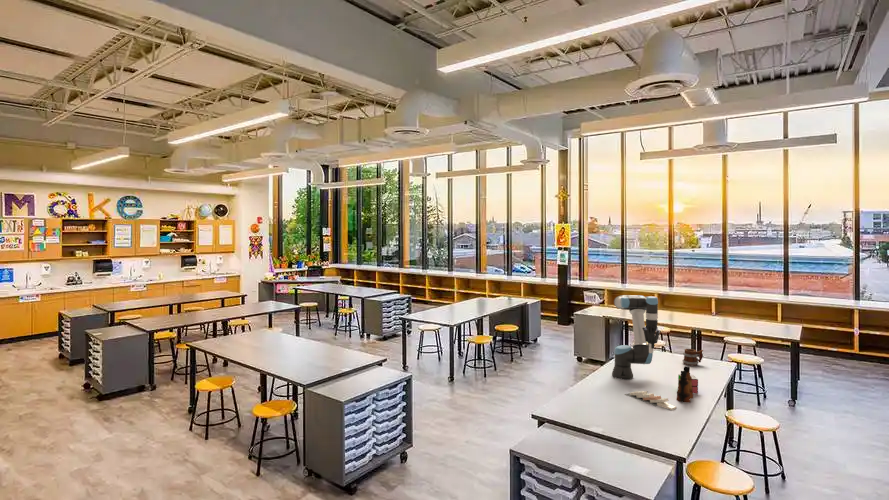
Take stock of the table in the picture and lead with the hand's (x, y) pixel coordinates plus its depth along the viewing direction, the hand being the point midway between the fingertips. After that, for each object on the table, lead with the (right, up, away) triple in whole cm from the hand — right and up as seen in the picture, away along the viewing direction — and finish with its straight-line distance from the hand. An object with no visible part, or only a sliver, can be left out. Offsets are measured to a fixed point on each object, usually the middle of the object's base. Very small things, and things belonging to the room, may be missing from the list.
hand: (651, 352), depth 327 cm
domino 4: (-6, -27, -26) cm, 38 cm away
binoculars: (+16, -27, -15) cm, 35 cm away
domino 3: (-9, -26, -21) cm, 35 cm away
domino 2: (-14, -26, -13) cm, 32 cm away
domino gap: (-11, -26, -17) cm, 33 cm away
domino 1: (-16, -26, -8) cm, 32 cm away
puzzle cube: (+25, -27, 0) cm, 37 cm away
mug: (+61, -23, +62) cm, 90 cm away
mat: (-12, -27, -16) cm, 34 cm away
